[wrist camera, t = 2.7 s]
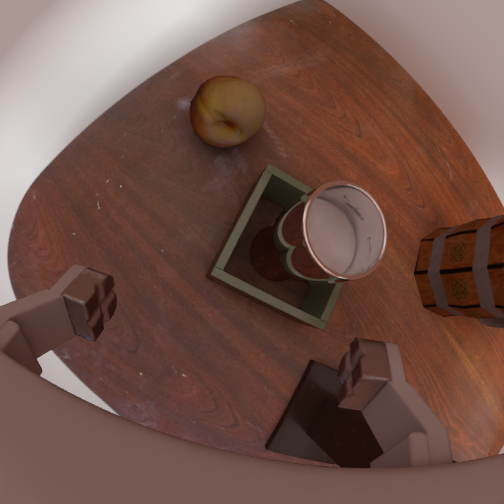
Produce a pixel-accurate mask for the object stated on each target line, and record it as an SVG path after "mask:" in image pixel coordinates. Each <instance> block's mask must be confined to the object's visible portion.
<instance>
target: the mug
mask: <svg viewBox="0 0 504 504" xmlns="http://www.w3.org/2000/svg"><path fill="white" fill-rule="evenodd" d="M414 275H415V278H416V281H417V285H418V288H419V291H420V295H421V298H422V302H423V305H424V307H425V308H427V309H429V310H431V311H433V312H435V313H437V314H439V315H441V316H443V317H447V316H469V317H474V318H477V319H478V320H479V321H480V322H481V323H482V324H485V325H488V326H490V327H499V328H504V215H501V216H497V217H493V218H486V219H478V220H474V221H472V222H469V223H466V224H463V225H460V226H455V227H450V228H440V229H438V230H437V231H435V232H433V233H432V234H430V235H429V236H427V237H425V238H424V239H422V240H421V245H420V250H419V254H418V259H417V264H416V268H415V272H414Z"/></svg>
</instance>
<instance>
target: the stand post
mask: <svg viewBox="0 0 504 504" xmlns="http://www.w3.org/2000/svg"><path fill="white" fill-rule="evenodd" d="M341 386H342V384H341V383H340V381H339V380H338V370H335V369H333V368H330V367H327V366H325V365H322V364H320V363H318V362H315V361H313V360H310V362H309V364H308V367H307V369H306V371H305V373H304V375H303V377H302V379H301V381H300V383H299V385H298V387H297V389H296V390H295V392H294V394H293V396H292V398H291V400H290V402H289V404H288V406H287V408H286V409H285V411H284V413H283V415H282V417H281V419H280V420H279V422H278V424H277V426H276V428H275V429H274V431H273V433H272V435H271V437H270V438H269V440H268V442H267V443H266V445H265V447H266V449H267V450H269V451H273V452H277V453H281V454H285V455H290V456H294V457H299V458H304V459H308V460H314V461H319V462H325V463H330V464H337V465H339V466H340V467H343V468H370V467H371V462H372V461H373V460H375V459H376V458H378V457H379V456H380V455H382V454H383V453H384V452H383V450H382V448H381V447H380V445H379V443H378V441H377V439H376V437H375V436H374V434H373V432H372V430H371V428H370V427H369V425H368V423H367V421H366V419H365V418H364V416H363V414H362V412H361V411H362V410H354V409H347V408H340V407H339V402H338V390H339V389H340V388H341ZM453 463H456V461H454V460H453Z"/></svg>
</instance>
